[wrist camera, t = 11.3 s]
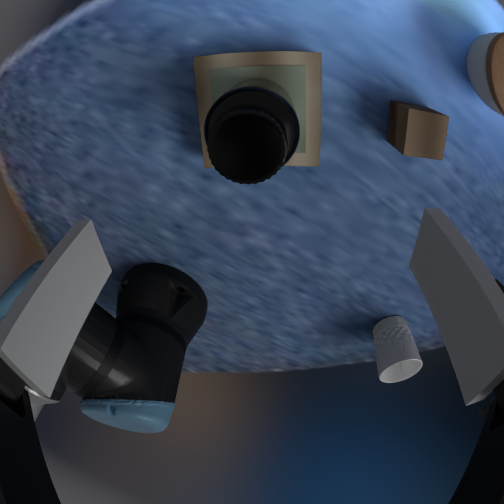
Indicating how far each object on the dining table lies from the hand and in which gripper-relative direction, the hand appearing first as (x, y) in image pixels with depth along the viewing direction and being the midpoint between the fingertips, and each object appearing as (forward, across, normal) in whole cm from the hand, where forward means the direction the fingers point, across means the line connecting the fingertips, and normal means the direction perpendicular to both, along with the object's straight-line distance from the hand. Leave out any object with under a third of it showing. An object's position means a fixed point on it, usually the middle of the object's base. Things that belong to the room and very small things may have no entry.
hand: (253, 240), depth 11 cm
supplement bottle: (+20, 0, +1) cm, 20 cm away
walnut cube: (+23, +17, 0) cm, 28 cm away
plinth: (+23, 0, +2) cm, 23 cm away
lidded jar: (+23, +28, +10) cm, 37 cm away
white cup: (+23, +22, -36) cm, 48 cm away
